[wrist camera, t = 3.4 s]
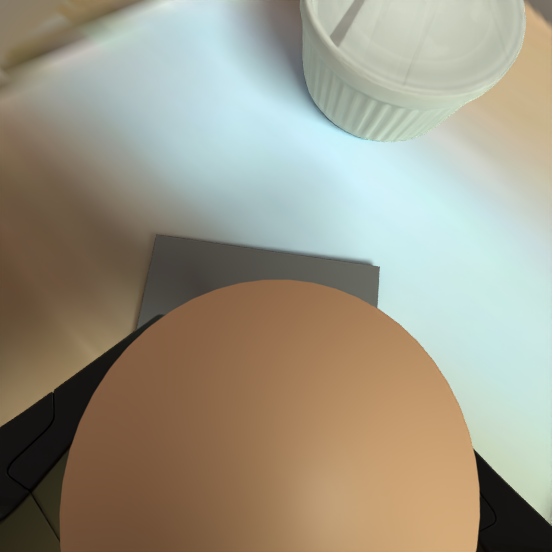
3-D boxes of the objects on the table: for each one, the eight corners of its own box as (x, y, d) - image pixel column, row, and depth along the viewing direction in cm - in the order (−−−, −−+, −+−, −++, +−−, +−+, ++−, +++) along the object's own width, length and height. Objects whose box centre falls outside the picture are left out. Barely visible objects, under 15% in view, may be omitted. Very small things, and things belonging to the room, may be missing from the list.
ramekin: (281, 6, 21) (292, -102, 16) (441, 10, 22) (500, -90, 17) (297, 162, 19) (315, 96, 14) (473, 158, 20) (551, 94, 15)
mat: (361, 509, 15) (365, 514, 15) (107, 484, 15) (102, 489, 14) (376, 268, 18) (379, 266, 17) (159, 237, 17) (156, 234, 17)
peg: (308, 392, 16) (556, 618, 3) (228, 424, 15) (122, 869, 2) (279, 313, 16) (386, 227, 4) (202, 341, 16) (9, 353, 3)
